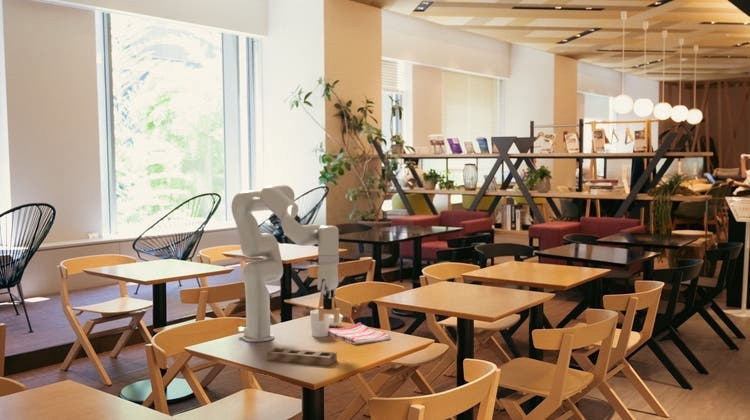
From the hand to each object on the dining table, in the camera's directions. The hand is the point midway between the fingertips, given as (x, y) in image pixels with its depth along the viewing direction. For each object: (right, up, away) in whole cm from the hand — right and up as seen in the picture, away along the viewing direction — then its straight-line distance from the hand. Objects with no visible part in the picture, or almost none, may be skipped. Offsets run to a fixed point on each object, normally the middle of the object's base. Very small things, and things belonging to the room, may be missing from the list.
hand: (329, 308), depth 268 cm
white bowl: (-3, -14, +45) cm, 47 cm away
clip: (0, -5, 0) cm, 5 cm away
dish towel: (+10, -16, +26) cm, 32 cm away
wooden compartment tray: (-9, -18, -8) cm, 22 cm away
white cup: (-6, -15, +29) cm, 33 cm away
